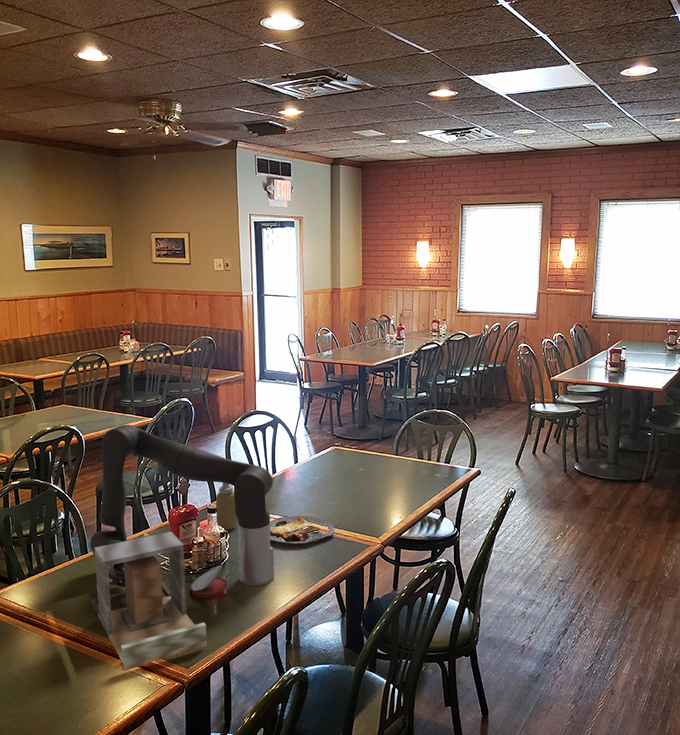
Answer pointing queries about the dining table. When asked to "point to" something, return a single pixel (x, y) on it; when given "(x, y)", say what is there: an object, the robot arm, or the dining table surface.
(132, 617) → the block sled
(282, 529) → the food plate
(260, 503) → the robot arm
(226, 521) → the squeeze bottle
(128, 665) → the tunnel
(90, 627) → the dining table surface
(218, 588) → the canned food
